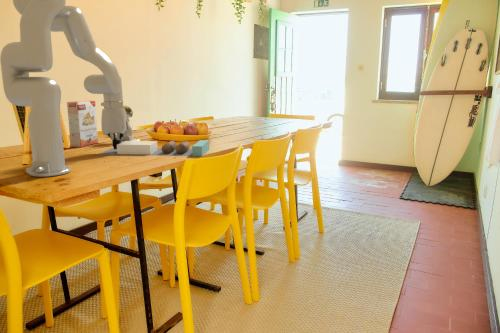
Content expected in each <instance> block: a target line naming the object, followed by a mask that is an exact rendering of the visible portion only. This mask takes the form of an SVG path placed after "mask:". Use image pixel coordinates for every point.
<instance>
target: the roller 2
mask: <svg viewBox="0 0 500 333" xmlns="http://www.w3.org/2000/svg"><path fill="white" fill-rule="evenodd" d="M190 147H191V144H190V142H188V141H185V140H184V141H182V142H181V143H179V144H177V146H176V148H175V150H176V152H177V153H178V154H183V153H184V152H186V151H187V150H188V149H191V148H190Z"/></svg>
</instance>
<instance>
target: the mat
mask: <svg viewBox="0 0 500 333" xmlns="http://www.w3.org/2000/svg"><path fill="white" fill-rule="evenodd" d="M157 148H158V147H157ZM98 155H101V156H102V155H107V156H110V155H113V156H144V155H143V154H117V149H114V147H112V148H111V147H110V148H109V149H107V150H104V151H102V152H99V153H98ZM150 156H156V157H157V156H158V157H159V156H160V157H163V156H164V157H166V156H168V157H193V156H192V148H189V149H188V150H187V151H186V152H184V153H183V154H178V153H177V152H176V150H173V151H172V152H170V153H168V154H165V153H163V152H162V147H159V148H158V150H157V151H156V152H154V153H152V154H151V155H150Z"/></svg>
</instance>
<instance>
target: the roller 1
mask: <svg viewBox="0 0 500 333" xmlns="http://www.w3.org/2000/svg"><path fill="white" fill-rule="evenodd" d="M177 145H178V144H177V142H175V140H170V141H169V142H167V143H165V144H163V145H162V146H161V148H162V152H163V153H165V154H168V153H170V152H172V151H173V150H175V148H176V146H177Z"/></svg>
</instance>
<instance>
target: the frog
mask: <svg viewBox="0 0 500 333" xmlns="http://www.w3.org/2000/svg"><path fill="white" fill-rule="evenodd" d="M123 109H125V111H126V115H127V120H128V132H129V134H128V135H126V136H123V137H122V138H121V143H122V142H124V141H142V140H141V139H140V138H137V139H136V138H135V137H133V134H134V129H133V125H132V122H131V120H130V118H132V117H133V114H134V111H133V109H132V107H130V106H127V105H123Z"/></svg>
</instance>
